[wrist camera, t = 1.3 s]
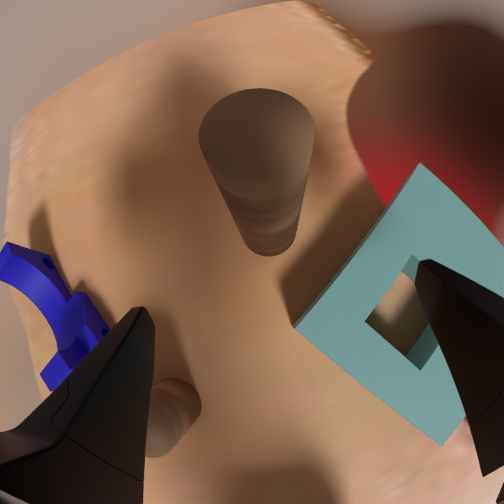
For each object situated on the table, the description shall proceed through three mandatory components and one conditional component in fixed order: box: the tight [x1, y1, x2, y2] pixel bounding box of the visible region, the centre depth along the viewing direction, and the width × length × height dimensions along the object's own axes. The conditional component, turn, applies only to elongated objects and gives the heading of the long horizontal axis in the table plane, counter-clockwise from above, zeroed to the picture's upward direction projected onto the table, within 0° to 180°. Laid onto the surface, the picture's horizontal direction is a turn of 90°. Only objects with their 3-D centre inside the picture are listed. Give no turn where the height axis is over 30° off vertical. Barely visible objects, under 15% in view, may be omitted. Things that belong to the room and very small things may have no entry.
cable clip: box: [0, 242, 110, 392], centre depth 19 cm, size 12×4×6 cm, turn 44°
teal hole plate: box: [292, 163, 504, 447], centre depth 18 cm, size 15×15×4 cm
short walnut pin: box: [145, 378, 201, 457], centre depth 17 cm, size 4×4×6 cm
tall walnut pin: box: [199, 88, 315, 256], centre depth 15 cm, size 4×4×12 cm
